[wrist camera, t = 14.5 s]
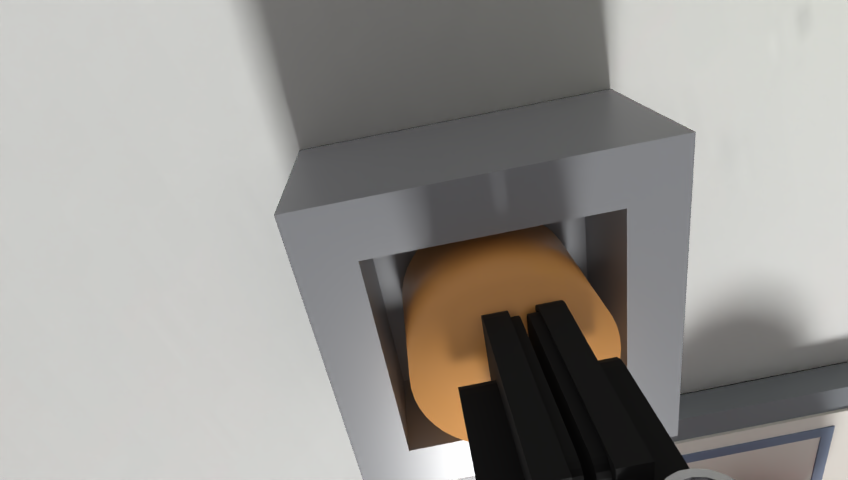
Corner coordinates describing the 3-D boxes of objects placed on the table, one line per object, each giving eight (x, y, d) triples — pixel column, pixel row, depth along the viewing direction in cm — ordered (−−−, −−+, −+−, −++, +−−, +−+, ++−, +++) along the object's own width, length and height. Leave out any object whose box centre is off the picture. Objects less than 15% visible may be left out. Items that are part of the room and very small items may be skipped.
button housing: (300, 150, 14) (273, 215, 10) (610, 88, 14) (695, 131, 10) (369, 387, 17) (368, 496, 14) (614, 339, 17) (677, 435, 14)
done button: (386, 231, 13) (389, 301, 10) (568, 195, 13) (620, 256, 10) (418, 372, 15) (428, 462, 12) (576, 341, 15) (621, 424, 12)
